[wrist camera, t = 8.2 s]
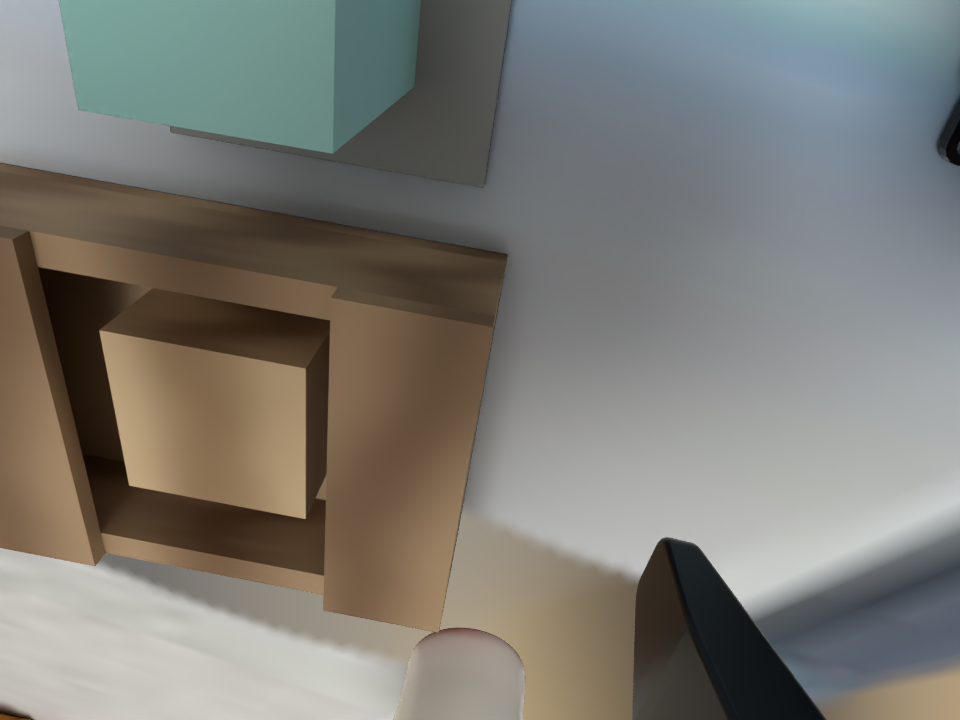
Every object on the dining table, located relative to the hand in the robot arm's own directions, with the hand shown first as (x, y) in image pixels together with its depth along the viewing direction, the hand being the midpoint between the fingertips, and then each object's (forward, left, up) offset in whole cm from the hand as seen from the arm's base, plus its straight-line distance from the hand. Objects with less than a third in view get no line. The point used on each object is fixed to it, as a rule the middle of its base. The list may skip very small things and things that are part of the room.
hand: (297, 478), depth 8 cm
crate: (+6, +8, -13) cm, 16 cm away
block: (+4, -5, -12) cm, 14 cm away
